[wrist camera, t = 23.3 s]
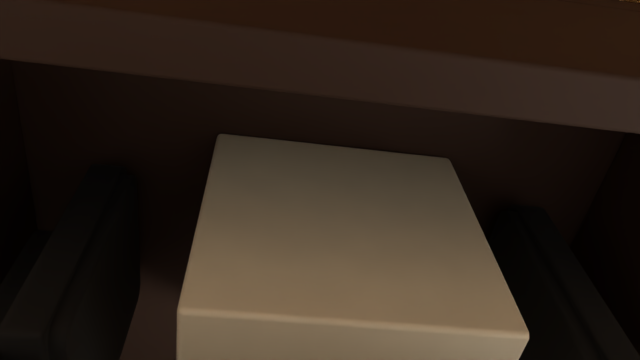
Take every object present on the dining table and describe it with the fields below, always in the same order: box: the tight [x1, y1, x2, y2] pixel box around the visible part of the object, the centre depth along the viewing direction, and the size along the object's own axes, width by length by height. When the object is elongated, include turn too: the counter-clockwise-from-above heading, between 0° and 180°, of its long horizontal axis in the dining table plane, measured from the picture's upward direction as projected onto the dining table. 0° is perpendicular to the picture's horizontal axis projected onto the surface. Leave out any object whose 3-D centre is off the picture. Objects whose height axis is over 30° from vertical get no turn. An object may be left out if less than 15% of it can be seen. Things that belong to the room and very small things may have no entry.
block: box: [176, 134, 529, 360], centre depth 10 cm, size 4×4×4 cm
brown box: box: [0, 0, 640, 360], centre depth 11 cm, size 14×12×4 cm
